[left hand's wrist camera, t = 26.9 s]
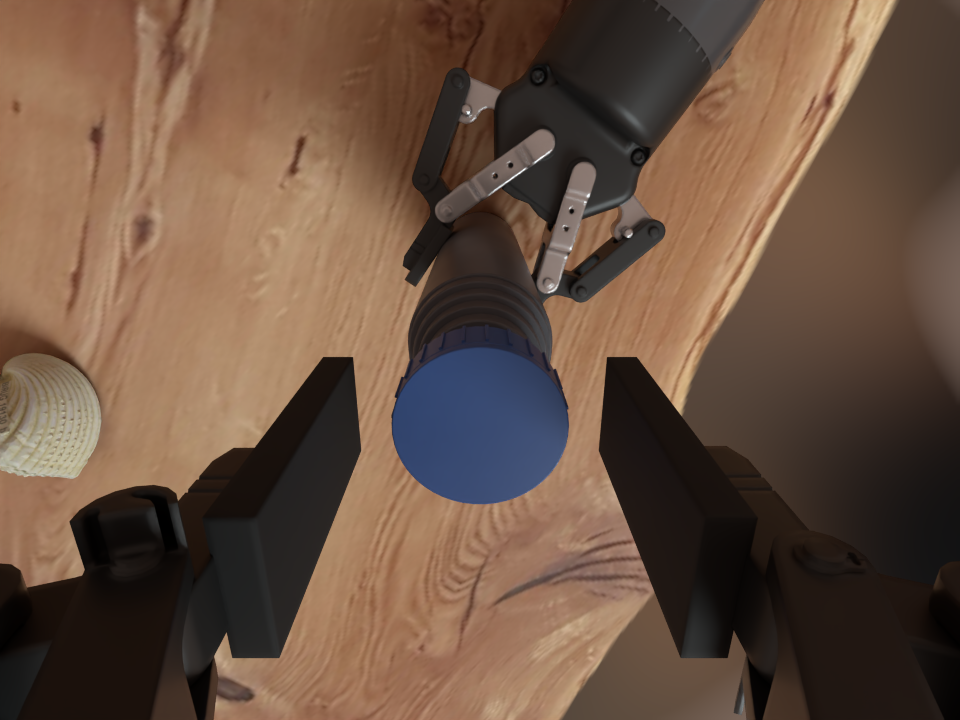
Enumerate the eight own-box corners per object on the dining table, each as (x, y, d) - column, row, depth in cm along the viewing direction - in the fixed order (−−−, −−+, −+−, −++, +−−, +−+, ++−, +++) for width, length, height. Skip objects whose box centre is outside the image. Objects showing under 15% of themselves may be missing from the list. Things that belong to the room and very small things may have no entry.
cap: (580, 341, 14) (592, 365, 13) (539, 483, 16) (545, 519, 14) (413, 308, 14) (405, 327, 12) (387, 456, 15) (377, 490, 14)
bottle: (527, 271, 37) (603, 462, 14) (459, 297, 38) (428, 519, 15) (502, 200, 35) (541, 290, 13) (430, 228, 36) (348, 362, 13)
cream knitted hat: (51, 332, 36) (79, 447, 34) (107, 365, 44) (131, 460, 42) (-100, 370, 34) (-77, 496, 32) (-12, 398, 41) (10, 500, 40)
